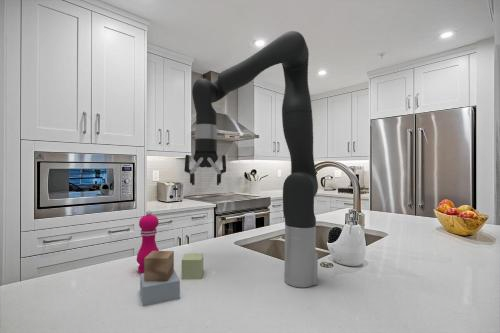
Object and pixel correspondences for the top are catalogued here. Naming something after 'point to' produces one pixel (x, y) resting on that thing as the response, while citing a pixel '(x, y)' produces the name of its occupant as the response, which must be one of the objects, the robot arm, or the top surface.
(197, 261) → the olive block
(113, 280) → the top surface
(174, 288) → the slate base block
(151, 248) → the pepper mill
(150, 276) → the walnut block
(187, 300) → the top surface
